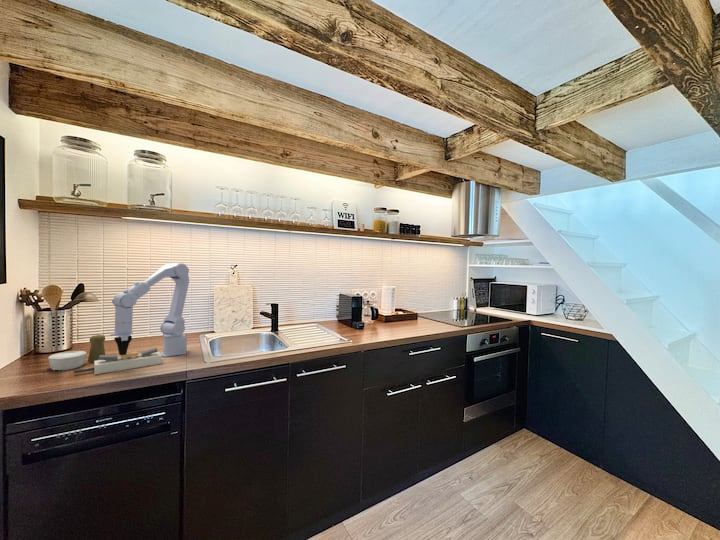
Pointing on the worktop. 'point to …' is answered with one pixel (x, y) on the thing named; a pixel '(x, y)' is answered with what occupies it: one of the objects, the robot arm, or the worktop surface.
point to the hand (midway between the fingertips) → (122, 354)
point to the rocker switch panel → (124, 363)
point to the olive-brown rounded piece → (96, 347)
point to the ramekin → (67, 360)
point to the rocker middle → (130, 354)
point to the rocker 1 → (108, 357)
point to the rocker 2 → (149, 352)
